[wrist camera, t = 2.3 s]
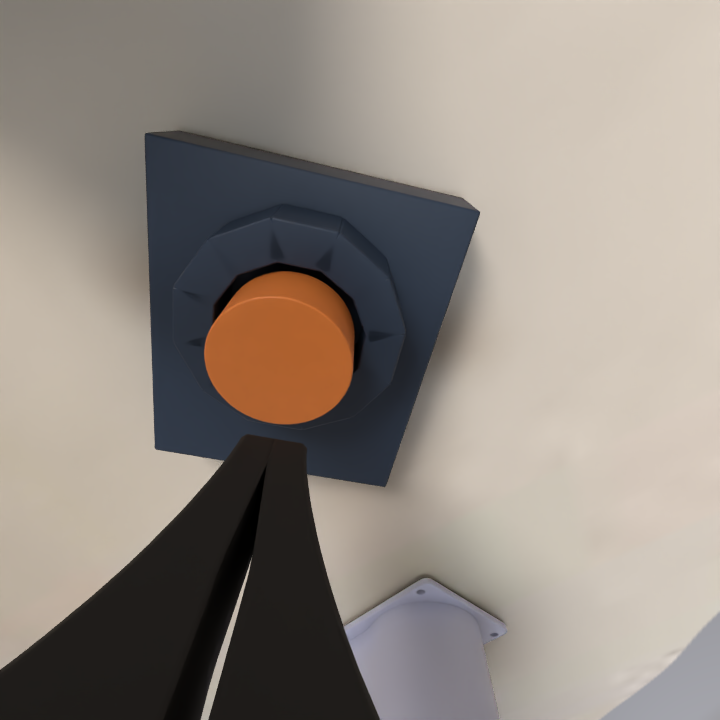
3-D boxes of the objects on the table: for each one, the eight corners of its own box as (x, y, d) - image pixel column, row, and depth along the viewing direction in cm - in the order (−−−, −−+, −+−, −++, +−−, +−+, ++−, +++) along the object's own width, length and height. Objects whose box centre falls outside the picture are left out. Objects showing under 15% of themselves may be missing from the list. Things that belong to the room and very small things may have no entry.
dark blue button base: (383, 449, 21) (387, 526, 17) (177, 413, 20) (131, 486, 16) (464, 198, 15) (499, 226, 11) (177, 130, 14) (105, 134, 10)
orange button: (341, 396, 14) (338, 435, 12) (222, 374, 14) (201, 411, 12) (367, 286, 12) (367, 314, 11) (229, 256, 12) (206, 281, 10)
